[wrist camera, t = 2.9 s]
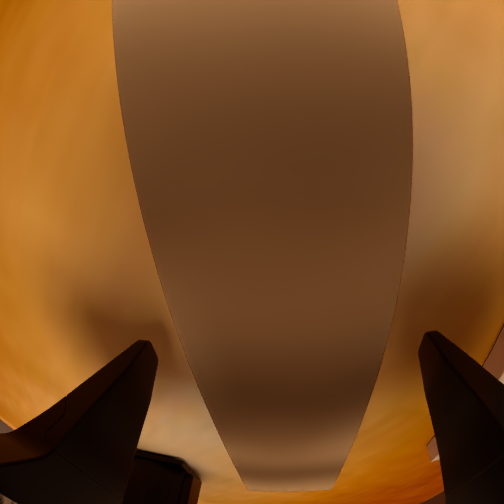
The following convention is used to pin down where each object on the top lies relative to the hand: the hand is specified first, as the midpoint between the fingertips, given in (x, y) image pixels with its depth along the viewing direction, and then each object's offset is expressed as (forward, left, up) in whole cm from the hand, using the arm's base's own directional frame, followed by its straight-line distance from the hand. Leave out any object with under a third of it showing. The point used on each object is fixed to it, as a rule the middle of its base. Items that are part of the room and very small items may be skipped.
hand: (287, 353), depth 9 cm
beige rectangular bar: (0, 0, -2) cm, 2 cm away
